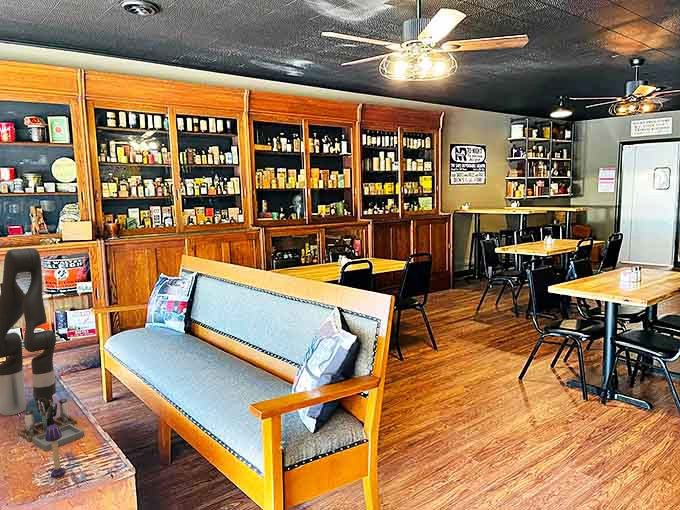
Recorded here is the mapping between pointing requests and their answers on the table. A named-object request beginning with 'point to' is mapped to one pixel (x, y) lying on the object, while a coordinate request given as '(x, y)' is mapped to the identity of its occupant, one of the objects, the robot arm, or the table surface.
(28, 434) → the glass vial
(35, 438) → the dish
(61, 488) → the table surface
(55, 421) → the rack
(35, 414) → the perfume bottle
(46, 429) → the cylinder
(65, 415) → the canister
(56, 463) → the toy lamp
